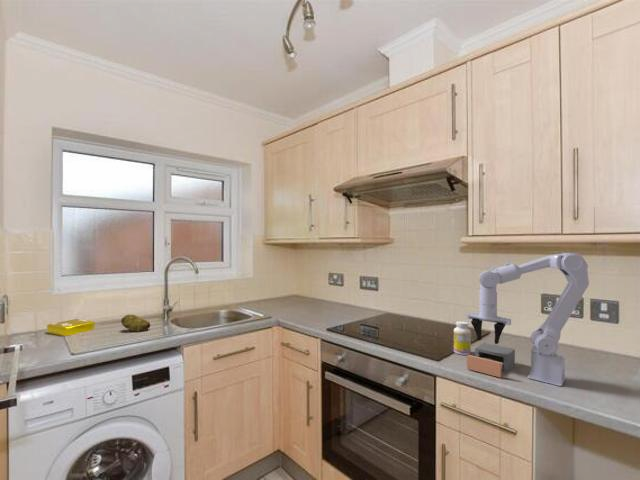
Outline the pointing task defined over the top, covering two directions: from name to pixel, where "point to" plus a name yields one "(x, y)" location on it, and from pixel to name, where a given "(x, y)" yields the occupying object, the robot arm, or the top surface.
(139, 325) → the potato
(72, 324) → the element tile
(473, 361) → the drawer
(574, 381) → the top surface
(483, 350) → the storage box
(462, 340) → the supplement bottle
